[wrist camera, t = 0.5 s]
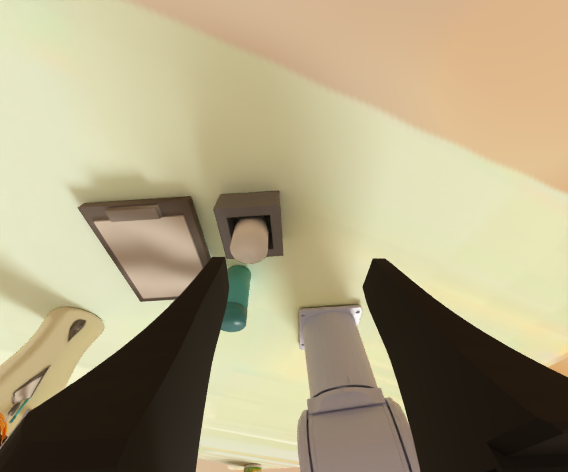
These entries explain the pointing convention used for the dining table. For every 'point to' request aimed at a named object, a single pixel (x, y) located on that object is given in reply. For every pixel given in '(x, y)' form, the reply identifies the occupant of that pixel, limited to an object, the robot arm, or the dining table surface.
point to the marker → (237, 299)
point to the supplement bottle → (252, 468)
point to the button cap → (250, 239)
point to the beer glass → (44, 364)
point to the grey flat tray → (151, 243)
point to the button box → (249, 206)
